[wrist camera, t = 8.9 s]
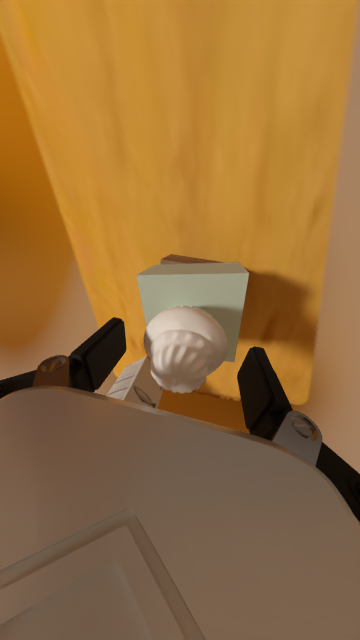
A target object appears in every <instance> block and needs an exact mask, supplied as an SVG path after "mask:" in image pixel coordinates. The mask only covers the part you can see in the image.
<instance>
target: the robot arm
mask: <svg viewBox="0 0 360 640" xmlns="http://www.w3.org/2000/svg"><path fill="white" fill-rule="evenodd" d="M125 352H126V338H125V327H124V321H122V319H120V318H115V317H113V318H112V319H111V320H109V321H108V322H107V323H106V324H105V325H104V326H102V327H101V328H100V329H99V330H98V331H97V332H95V333H94V334H93V335H92V336H91V337H90V338H88V339H87V340H86V341H85V342H84V343H82V344H81V345H80V346H79V347H78V348H77V349H76V350H74V351H73V352H72V353H71V355H70V356H69V357H67V356H64V355H57V356H53V357H50V358H48V359H46V360H44V361H43V362H41V363H40V365H39V366H38V368H37V370H35V371H31V372H27V373H24V374H21V375H18V376H14V377H10V378H7V379H4V380H0V640H360V474H359V473H358V472H357V471H355V470H354V469H353V468H352V467H351V466H350V465H349V464H347V463H346V462H345V461H344V460H343V459H342V458H340V457H339V456H338V455H337V454H336V453H335V452H333V451H332V450H331V449H330V448H329V447H328V446H326V445H325V444H324V443H323V442H322V435H321V432H320V430H319V429H318V427H317V426H316V425H315V423H314V422H313V421H312V420H311V419H309V418H308V417H307V416H305V415H304V414H302V413H300V412H298V411H293V410H292V408H291V405H290V403H289V401H288V399H287V397H286V394H285V392H284V390H283V388H282V386H281V384H280V381H279V379H278V377H277V375H276V373H275V371H274V370H273V368H272V366H271V364H270V361H269V359H268V357H267V355H266V353H265V350H264V349H263V348H260V347H255V346H254V347H253V348H250V349H249V351H248V353H247V355H246V358H245V360H244V362H243V364H242V366H241V368H240V370H239V372H238V375H237V379H238V384H239V390H240V396H241V401H242V407H243V412H244V418H245V424H246V427H247V429H249V432H250V434H248V433H245V432H241V431H238V430H234V429H230V428H227V427H223V426H219V425H215V424H212V423H208V422H205V421H201V420H197V419H193V418H190V417H186V416H182V415H178V414H174V413H171V412H166V411H163V410H159V409H155V408H151V407H148V406H144V405H140V404H136V403H132V402H128V401H124V400H120V399H116V398H113V397H109V396H105V395H101V394H97V393H93V392H94V391H95V390H97V389H99V387H100V386H101V385H102V383H103V382H104V381H105V379H106V378H107V377H108V375H109V374H110V372H111V371H112V370H113V368H114V367H115V366H116V364H117V363H118V361H119V360H120V359H121V357H122V356H123V355H124V353H125Z"/></svg>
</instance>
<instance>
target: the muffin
mask: <svg viewBox="0 0 360 640" xmlns="http://www.w3.org/2000/svg"><path fill="white" fill-rule="evenodd" d="M144 347H145V350H146V353H147V355H148V356H149V358H150V360H151V362H150V367H151V374H152V376H153V378H154V379H155V380H156V382H157V383H158V384H159V385H160V386H162V387H164V389H166V390H171V391H172V392H173V393H175V392H179V393H181V394H183V393H184V392H187V393H191V392H192V391H193V390H197V389H199V388H200V387H201V384H203V383H204V382H206V379H207V378H206V376H207V375H209V374H211V373H212V372H214V371H215V370H216V369H217V368H218V367H219V366H220V365H221V364H222V363H223V361H224V360H225V357H226V354H227V348H228V345H227V338H226V335H225V332H224V330H223V329H222V327H221V326H220V324H219V323H218V322H217V320H215V319H214V318H212V315H211V314H208V313H206V311H205V310H201V309H200V308H199V307H195V308H194V307H193V306H192V305H191V306H190V307H189V306H185V305H181V306H174V308H168V310H165V311H163V312H161V313H159V314H158V315H157V316H155V317H154V318H153V319H152V320H151V321H150V323H149V324H148V326H147V328H146V330H145V334H144Z"/></svg>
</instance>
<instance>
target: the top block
mask: <svg viewBox="0 0 360 640" xmlns="http://www.w3.org/2000/svg"><path fill="white" fill-rule="evenodd" d="M136 276H137V281H138V286H139V291H140V296H141V301H142V306H143V311H144V316H145V321H146V326H148V324H149V323H150V321H151V320H152V319H153V318H154V317H155V316H157V315H158V314H159V313H161V312H163V311H165V310H168V308H174V306H181V305H185V306H189V307H190V306H191V305H192V306H193V307H194V308H195V307H199V308H200V309H201V310H205V311H206V313H208V314H211V315H212V318H214V319H215V320H217V322H218V323H219V324H220V326H221V327H222V329H223V330H224V332H225V335H226V338H227V345H228V348H227V354H226V357H225V360H224V361H229V362H234V361H235V355H236V349H237V343H238V337H239V331H240V325H241V319H242V313H243V307H244V301H245V295H246V289H247V283H248V278H249V272H248V271H247V270H246V269H245V268H244V267H243V266H242V265H241V264H240V263H239V262H229V263H196V264H163V265H154V266H152V267H150V268H148V269H147V270H145V271H143V272H141V273H139V274H138V275H136Z"/></svg>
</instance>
